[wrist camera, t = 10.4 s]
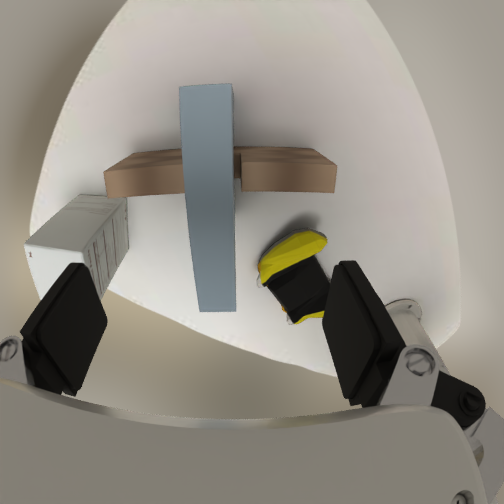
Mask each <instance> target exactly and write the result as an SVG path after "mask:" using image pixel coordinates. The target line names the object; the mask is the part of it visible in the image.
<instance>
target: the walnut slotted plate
mask: <svg viewBox="0 0 504 504" xmlns="http://www.w3.org/2000/svg"><path fill="white" fill-rule="evenodd" d="M233 151H234V178H241V190H242V192H247V191H275V192H320V193H334V190H335V182H336V173H337V165H336V164H334V163H333V162H332V161H330V160H329V159H327V158H326V157H324V156H323V155H321V154H320V153H318V152H317V151H315V150H314V149H309V148H291V147H233ZM104 179H105V185H106V191H107V197H108V199H109V198H120V197H132V196H145V195H160V194H178V193H185V188H184V175H183V161H182V149H172V150H160V151H150V152H141V153H133V154H132V155H130V156H128V157H127V158H125V159H123V160H122V161H120V162H118V163H117V164H115V165H114V166H112V167H111V168H109V169H107V170H106V171H104Z"/></svg>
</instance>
